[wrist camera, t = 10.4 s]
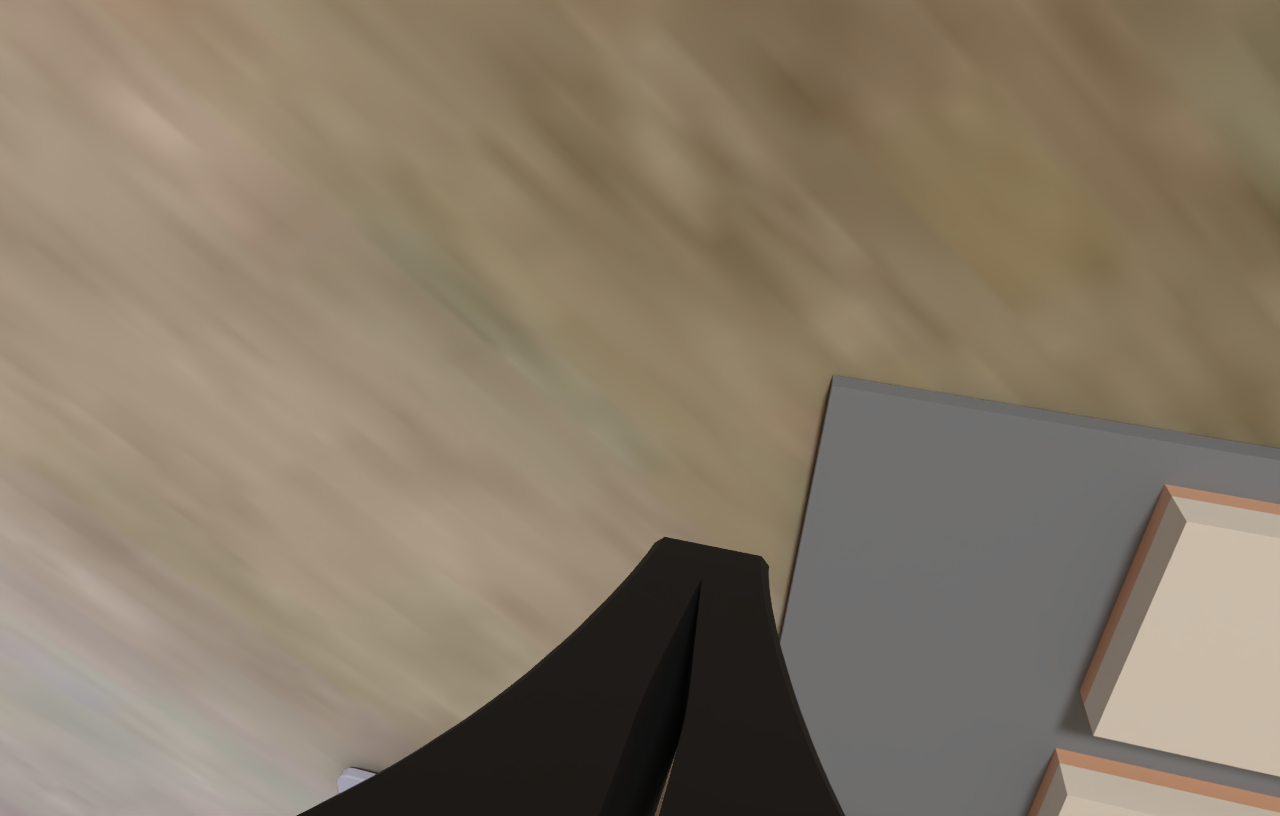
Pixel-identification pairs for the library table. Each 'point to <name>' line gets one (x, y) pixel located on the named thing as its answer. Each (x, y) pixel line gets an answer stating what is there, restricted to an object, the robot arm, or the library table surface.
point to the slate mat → (976, 591)
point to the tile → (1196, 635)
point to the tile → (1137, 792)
